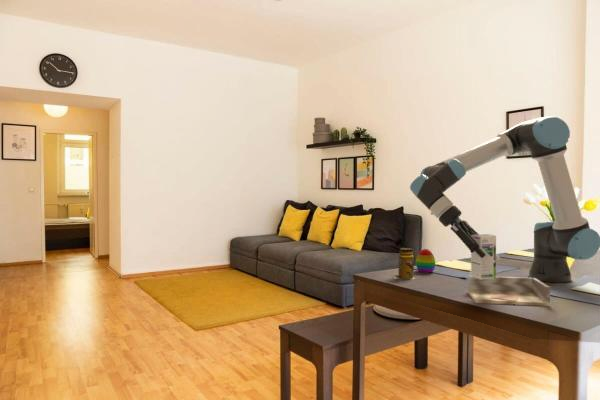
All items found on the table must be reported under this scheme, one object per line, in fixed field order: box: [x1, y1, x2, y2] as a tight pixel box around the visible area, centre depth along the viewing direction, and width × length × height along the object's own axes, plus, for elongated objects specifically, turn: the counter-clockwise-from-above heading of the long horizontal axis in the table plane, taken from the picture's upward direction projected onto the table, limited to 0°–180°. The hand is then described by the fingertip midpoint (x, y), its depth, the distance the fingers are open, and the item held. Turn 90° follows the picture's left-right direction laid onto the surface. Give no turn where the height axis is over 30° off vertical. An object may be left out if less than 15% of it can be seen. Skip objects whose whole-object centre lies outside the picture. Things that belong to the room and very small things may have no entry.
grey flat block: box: [467, 275, 551, 307], centre depth 149 cm, size 22×14×6 cm, turn 80°
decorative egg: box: [415, 248, 436, 274], centre depth 195 cm, size 8×8×10 cm
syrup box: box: [470, 233, 497, 280], centre depth 150 cm, size 6×6×14 cm
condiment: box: [392, 247, 416, 280], centre depth 183 cm, size 7×8×12 cm
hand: (494, 262), depth 148 cm, fingers closed on syrup box, 8 cm apart
